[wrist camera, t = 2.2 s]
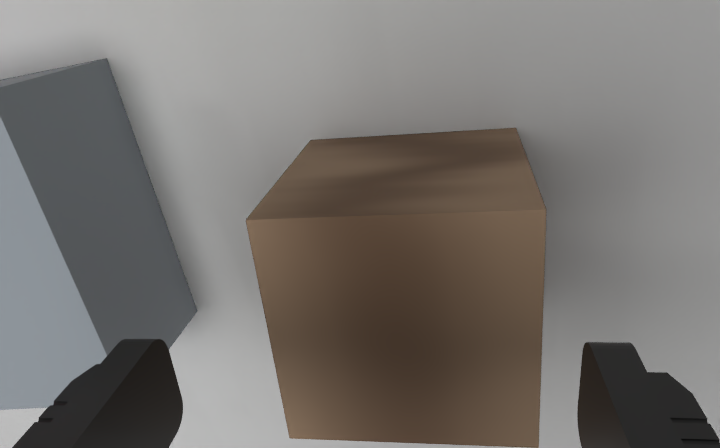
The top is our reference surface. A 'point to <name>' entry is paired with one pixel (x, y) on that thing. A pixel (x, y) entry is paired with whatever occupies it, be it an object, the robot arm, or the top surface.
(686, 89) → the top surface
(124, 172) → the slate base block
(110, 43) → the top surface
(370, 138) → the walnut block
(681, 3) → the top surface
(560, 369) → the top surface
